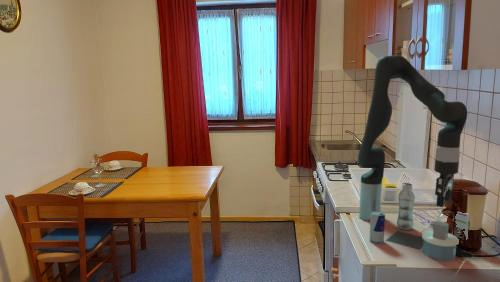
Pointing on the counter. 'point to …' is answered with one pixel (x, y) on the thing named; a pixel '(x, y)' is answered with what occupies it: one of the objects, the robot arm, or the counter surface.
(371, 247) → the counter surface
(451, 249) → the bowl
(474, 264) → the counter surface
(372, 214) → the energy drink
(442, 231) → the lid
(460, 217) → the syrup box
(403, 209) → the plastic bottle
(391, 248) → the counter surface
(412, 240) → the mat
